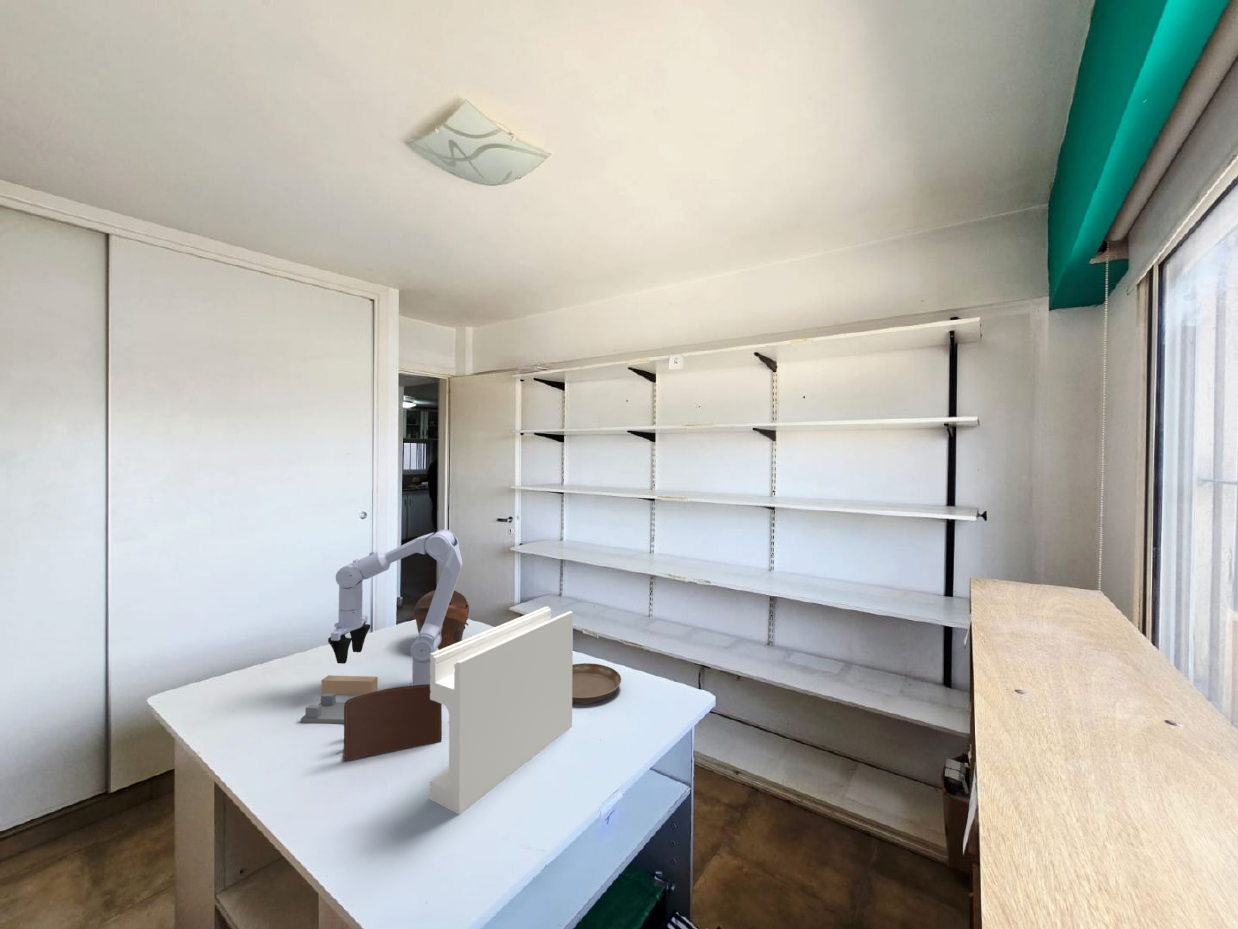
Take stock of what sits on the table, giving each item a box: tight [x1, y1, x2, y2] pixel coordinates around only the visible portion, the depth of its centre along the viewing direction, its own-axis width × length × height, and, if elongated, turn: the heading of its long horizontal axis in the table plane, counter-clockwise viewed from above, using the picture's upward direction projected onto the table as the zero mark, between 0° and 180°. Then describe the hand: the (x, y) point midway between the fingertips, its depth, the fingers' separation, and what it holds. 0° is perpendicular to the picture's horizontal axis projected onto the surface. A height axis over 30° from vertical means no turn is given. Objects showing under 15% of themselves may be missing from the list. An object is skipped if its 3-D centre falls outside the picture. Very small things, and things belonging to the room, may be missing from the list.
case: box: [411, 589, 470, 650], centre depth 172 cm, size 18×20×18 cm
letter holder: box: [343, 684, 443, 763], centre depth 116 cm, size 10×20×14 cm, turn 114°
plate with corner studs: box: [300, 693, 345, 724], centre depth 127 cm, size 16×8×4 cm, turn 88°
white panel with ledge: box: [429, 606, 574, 815], centre depth 110 cm, size 35×8×28 cm, turn 150°
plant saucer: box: [572, 662, 622, 705], centre depth 143 cm, size 21×21×3 cm
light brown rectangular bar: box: [320, 675, 379, 696], centre depth 140 cm, size 14×3×4 cm, turn 88°
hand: (349, 657), depth 139 cm, fingers open, 7 cm apart
